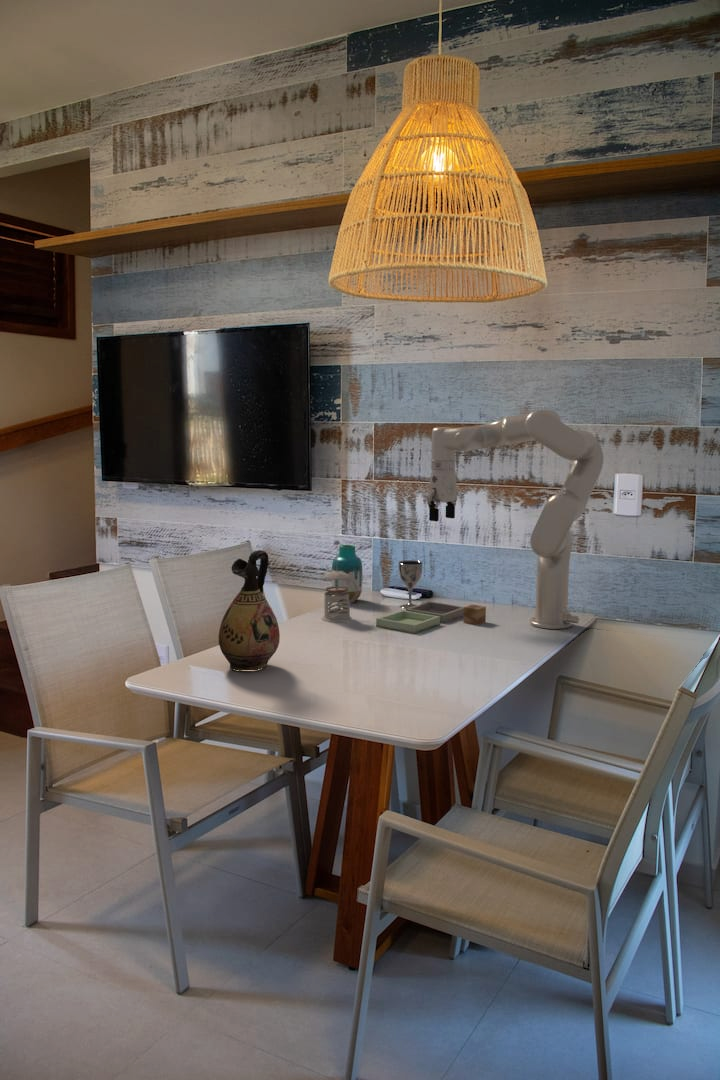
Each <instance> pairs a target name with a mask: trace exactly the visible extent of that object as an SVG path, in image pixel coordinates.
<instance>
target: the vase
mask: <svg viewBox="0 0 720 1080" xmlns="http://www.w3.org/2000/svg"><path fill="white" fill-rule="evenodd" d="M338 549H339V550H338V554H337V555H336V556H335V557H334V558H333V560H332V563H331V564H332V566H331V572H333V571H336V570H337V571H341V572H344V573H346V574H348V575H349V576H350V577H349V578H348V579H350V580H352V581H353V582H355V583H356V585H357V587H358V595H357V587H356V589H355V586H356V585H354V583H353V582H352V581H350V584H349V580H348V579H345V580H331V587H333V586H342V587H346V588H348V590H347V591H345V592H347V593H348V594H349V601H350V600H352V599H353V598H354V596H355V598H356V595H357V598H356V599H355V598H354V599H355V600H354V599H353V600H352V601H356V600H357V599H359V598H360V596H361V594H362V591H363V579H364V578H363V574H364V572H363V562H362V560H361V558H360V557H359V556H357V553H356V546H355V545H354V544H340V545H339V548H338ZM347 580H348V583H347ZM355 592H356V595H355ZM333 596H341V595H338V594H335V595H333ZM340 601H343V600H340ZM352 601H350V602H352Z"/></svg>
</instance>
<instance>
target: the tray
mask: <svg viewBox="0 0 720 1080" xmlns="http://www.w3.org/2000/svg"><path fill="white" fill-rule="evenodd" d="M375 625H376V626H375V627H376V628H381V629H387V630H393V631H398V632H404V633H409V634H413V635H414V634H417V633H418V634H419V633H420V632H423V631H426V630H428V629H431V628H434V627H437V626H440V625H441V623H440V617H439V616H434V615H428V614H422V613H416V612H410V611H406V610H403V609H402V610H399V611H395V612H393V613H389V614H386V615H383V616H380V617H377V618H376V619H375Z"/></svg>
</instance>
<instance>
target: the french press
mask: <svg viewBox="0 0 720 1080" xmlns="http://www.w3.org/2000/svg"><path fill="white" fill-rule="evenodd" d="M333 545H336V546H338V545H341V542H340V541H339V540H334V541H333ZM349 577H350V576H349V575H348V574H346V573H344V572H341V571H337V570H336V571H333V572H332V571H329V572H327V573H326V574H324V575H323V578H324V579H326V580H328V581H329V580H331V581H332V580H345V579H348V578H349ZM348 580H349V584H350V581H352V580H350V579H348ZM348 580H347V583H348ZM352 582H353V581H352ZM353 583H354V585H356V583H355V582H353ZM356 587H357V585H356V586H355V589H356ZM347 590H348V588H346V587H342V586H333V587H332V586H328V587H325V591H326V592H325V593H323V595H324V598H323V599H324V601H323V602H324V606H323V607H324V608H323V609H324V613H323V614H324V615H323V616H322V617H321V621H322V622H326V623H331V624H333V623H334V624H339V623H349V622H351V621H352V620H353V618H352V617H351V616H350V615H351V613H350V611H351V609H350V606H351V604H352V603H354V602H355V601H356V600H357V599H356V598H357V595H358V587H357V595H356V592H355V595H356V598H355V596H354V598H355V599H356V600H355V599H354V598H353V599H354V600H353V599H352V600H353V601H352V600H350V601H349V594H348V593H347V592H345V591H347ZM335 594H338V595H341V596H334V595H335ZM341 600H343V601H341Z"/></svg>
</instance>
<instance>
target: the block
mask: <svg viewBox="0 0 720 1080" xmlns="http://www.w3.org/2000/svg"><path fill="white" fill-rule="evenodd" d="M463 607H464V616H462V617H463V622H462V623H463V624H468V625H473V626H479V625H481V624H484V623H486V621H487V619H486V618H487V615H486V613H487V606H484V605H477V604H469V605H466V606H463Z"/></svg>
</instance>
